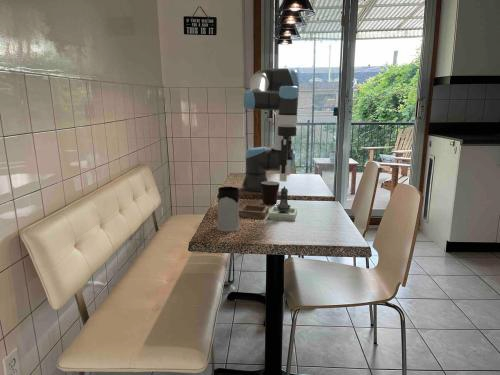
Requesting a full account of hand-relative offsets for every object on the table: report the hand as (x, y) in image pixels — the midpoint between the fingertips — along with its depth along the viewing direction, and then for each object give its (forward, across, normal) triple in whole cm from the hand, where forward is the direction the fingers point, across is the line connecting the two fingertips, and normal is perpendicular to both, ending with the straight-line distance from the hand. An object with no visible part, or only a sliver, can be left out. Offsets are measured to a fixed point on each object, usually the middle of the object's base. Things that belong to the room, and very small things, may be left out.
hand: (284, 178), depth 156 cm
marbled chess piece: (+16, +1, 0) cm, 16 cm away
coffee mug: (+17, -21, -8) cm, 28 cm away
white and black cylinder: (+16, +19, -18) cm, 31 cm away
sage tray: (+16, +1, 0) cm, 16 cm away
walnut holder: (+16, +1, -12) cm, 20 cm away
